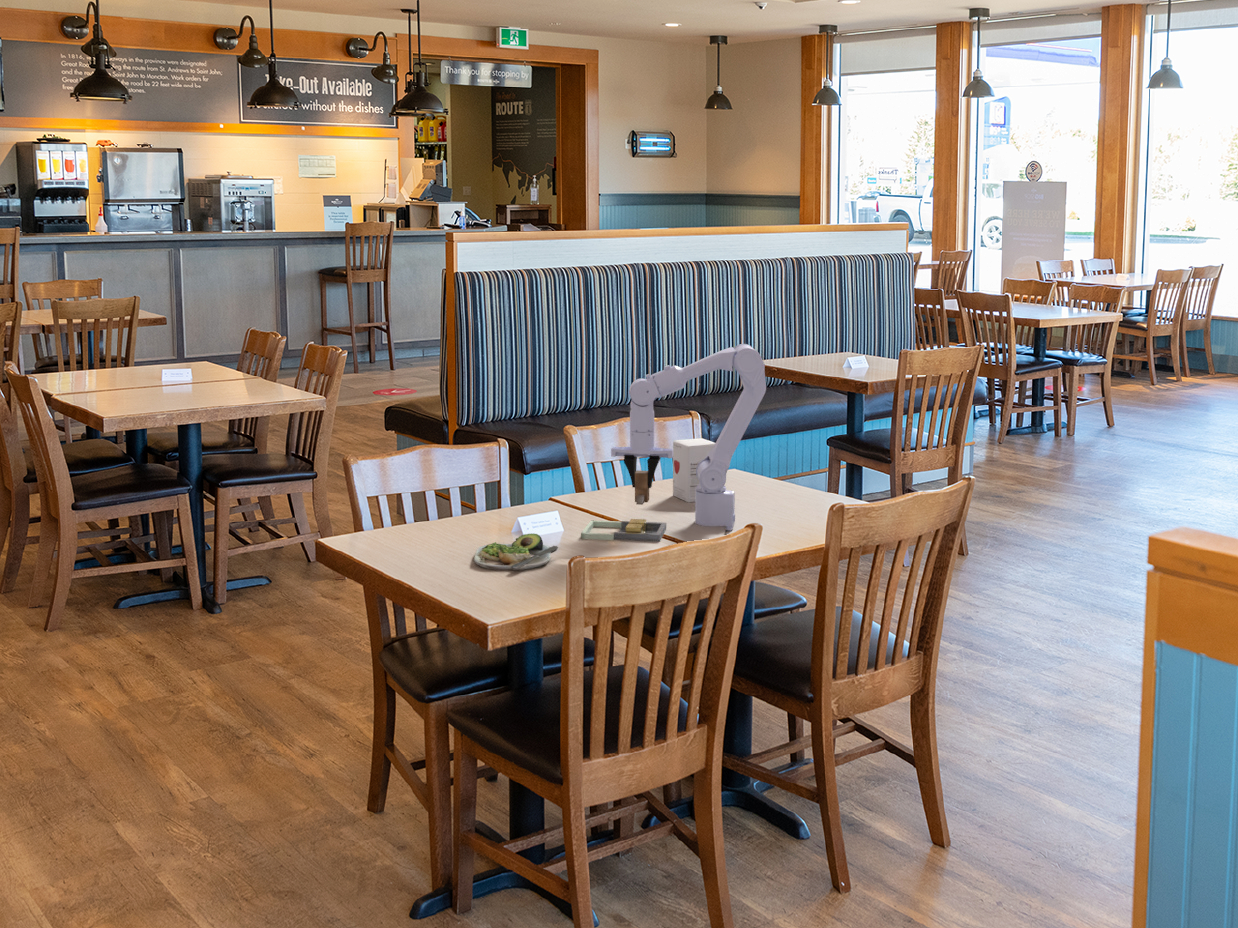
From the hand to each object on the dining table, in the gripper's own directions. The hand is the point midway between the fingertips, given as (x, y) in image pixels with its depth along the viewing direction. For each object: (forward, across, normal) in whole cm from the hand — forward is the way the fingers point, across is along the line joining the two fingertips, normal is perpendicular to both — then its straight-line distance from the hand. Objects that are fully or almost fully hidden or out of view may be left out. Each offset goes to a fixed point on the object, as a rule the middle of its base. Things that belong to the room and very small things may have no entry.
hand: (642, 486), depth 291 cm
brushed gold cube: (+9, 0, +8) cm, 12 cm away
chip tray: (+10, +8, +10) cm, 16 cm away
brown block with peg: (+3, 0, 0) cm, 3 cm away
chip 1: (+9, 0, +12) cm, 15 cm away
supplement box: (+10, -9, -32) cm, 35 cm away
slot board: (+10, -1, +10) cm, 14 cm away
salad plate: (+10, +23, +31) cm, 40 cm away
